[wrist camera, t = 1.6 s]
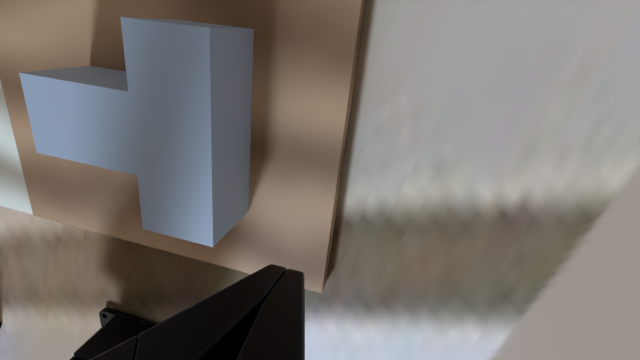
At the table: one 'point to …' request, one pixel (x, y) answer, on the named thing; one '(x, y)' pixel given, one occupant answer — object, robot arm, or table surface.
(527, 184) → the table surface
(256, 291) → the robot arm
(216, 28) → the t block
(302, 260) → the board
